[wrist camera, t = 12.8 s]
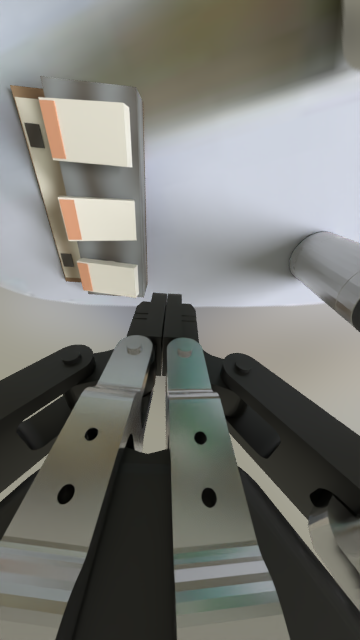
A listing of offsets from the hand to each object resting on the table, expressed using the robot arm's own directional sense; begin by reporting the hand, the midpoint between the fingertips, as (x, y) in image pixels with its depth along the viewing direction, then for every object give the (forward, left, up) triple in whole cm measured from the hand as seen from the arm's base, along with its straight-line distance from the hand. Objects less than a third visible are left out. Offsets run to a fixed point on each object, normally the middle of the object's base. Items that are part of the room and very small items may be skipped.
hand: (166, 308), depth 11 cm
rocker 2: (+10, 0, -22) cm, 24 cm away
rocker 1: (+10, -9, -22) cm, 26 cm away
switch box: (+13, 0, -29) cm, 31 cm away
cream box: (+10, +8, -22) cm, 26 cm away
